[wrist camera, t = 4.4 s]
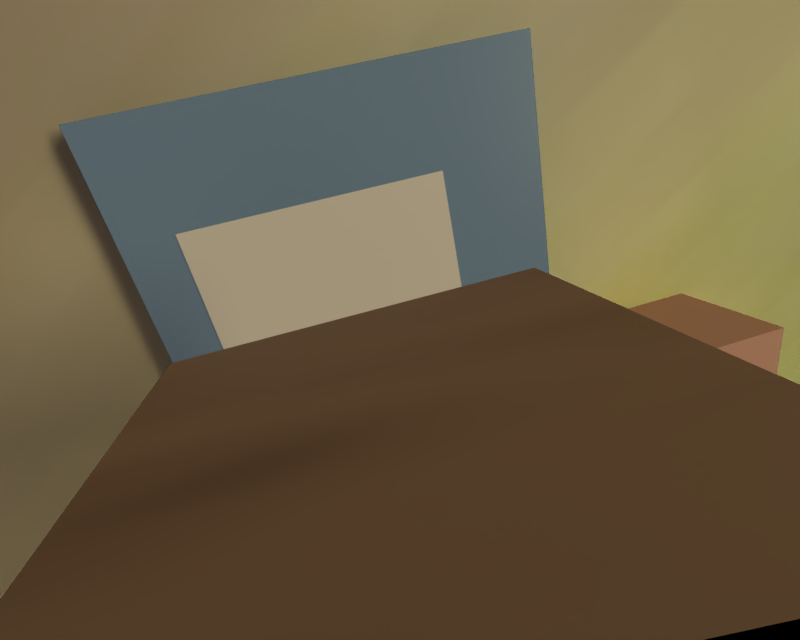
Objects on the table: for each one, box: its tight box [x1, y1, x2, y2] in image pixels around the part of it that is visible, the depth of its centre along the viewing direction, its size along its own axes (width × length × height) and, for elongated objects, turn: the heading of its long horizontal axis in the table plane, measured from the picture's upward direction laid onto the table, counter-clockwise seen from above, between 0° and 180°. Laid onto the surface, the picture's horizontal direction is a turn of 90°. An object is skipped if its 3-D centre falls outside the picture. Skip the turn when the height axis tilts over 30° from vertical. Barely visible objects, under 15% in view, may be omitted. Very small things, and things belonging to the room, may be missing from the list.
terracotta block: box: [629, 294, 784, 374], centre depth 19 cm, size 5×5×5 cm
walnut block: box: [0, 268, 800, 640], centre depth 6 cm, size 6×6×6 cm
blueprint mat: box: [59, 28, 549, 363], centre depth 18 cm, size 18×16×1 cm
